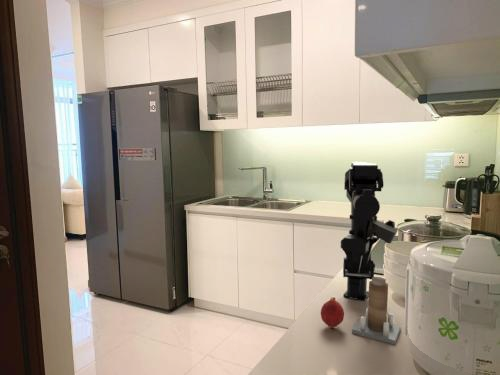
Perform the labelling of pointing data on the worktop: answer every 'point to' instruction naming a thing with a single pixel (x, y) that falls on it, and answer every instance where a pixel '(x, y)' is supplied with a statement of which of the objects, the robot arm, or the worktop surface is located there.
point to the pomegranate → (332, 313)
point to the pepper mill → (377, 304)
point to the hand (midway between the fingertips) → (361, 268)
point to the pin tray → (387, 335)
